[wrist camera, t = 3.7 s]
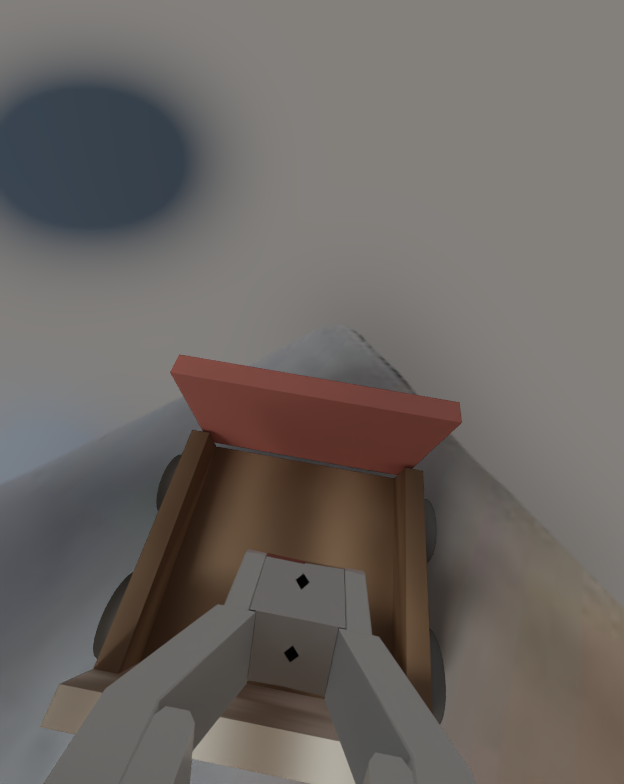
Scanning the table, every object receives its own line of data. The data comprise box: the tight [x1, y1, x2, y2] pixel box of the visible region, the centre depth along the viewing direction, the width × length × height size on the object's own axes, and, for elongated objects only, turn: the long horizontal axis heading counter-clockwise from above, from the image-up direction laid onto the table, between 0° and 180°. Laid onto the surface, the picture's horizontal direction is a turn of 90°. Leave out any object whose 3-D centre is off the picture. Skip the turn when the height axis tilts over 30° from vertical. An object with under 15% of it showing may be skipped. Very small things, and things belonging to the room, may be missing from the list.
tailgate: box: [170, 355, 462, 475], centre depth 20 cm, size 15×2×9 cm, turn 81°
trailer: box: [40, 430, 446, 784], centre depth 19 cm, size 19×14×9 cm
